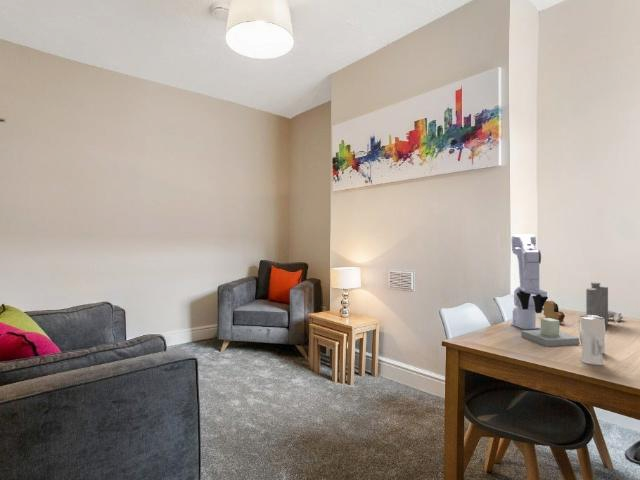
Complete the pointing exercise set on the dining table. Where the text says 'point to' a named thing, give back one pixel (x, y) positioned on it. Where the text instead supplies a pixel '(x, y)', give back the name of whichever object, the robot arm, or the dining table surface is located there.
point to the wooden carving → (552, 311)
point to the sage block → (550, 327)
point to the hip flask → (597, 301)
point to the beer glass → (592, 339)
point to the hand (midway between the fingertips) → (531, 311)
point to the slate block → (550, 338)
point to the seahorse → (614, 316)
